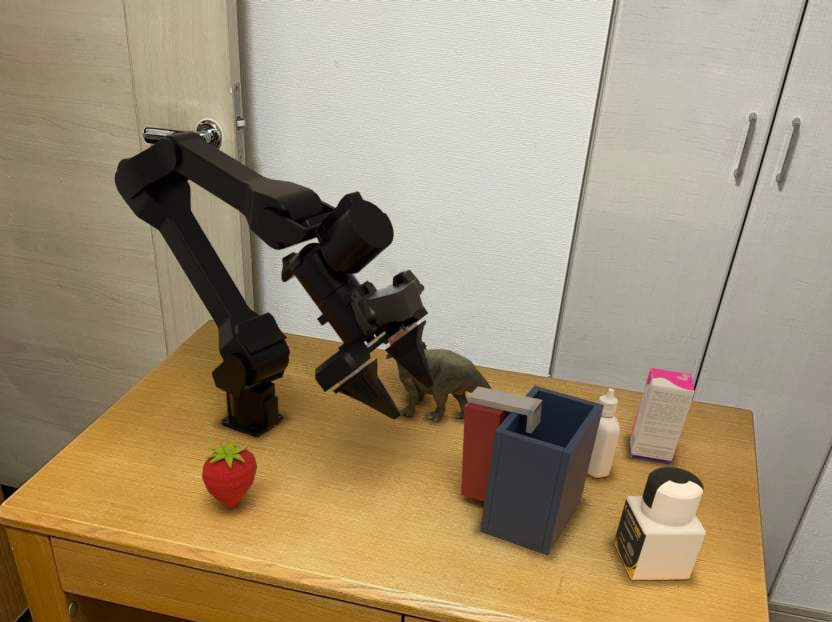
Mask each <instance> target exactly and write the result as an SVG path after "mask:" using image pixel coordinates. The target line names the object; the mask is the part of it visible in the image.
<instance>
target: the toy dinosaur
mask: <svg viewBox="0 0 832 622" xmlns="http://www.w3.org/2000/svg"><path fill="white" fill-rule="evenodd" d="M426 343H427V342H426V341H423V340H422V344H423V348H424V352H425V355H426V359H427V362H428V365H429V368H430V371H431V374H432V378H433V381H434V385H433V386H431V387H430V388H426V387H425V386H424V385H422V384H421V383H420V382H419V381H418V380H416V379H415V378H414V377H413V376H412V375H411V374H410V373H409V372H408V371H407V370H406V369H405V368H403V367H402V366H401V365H400V364H399V363H398V362H397V361H396V360H395V361H396V365H397V371H398V378H399V381H400V382H401V383H402V385H403V387H404V389H405V391H406V392H407V393H408V400H407V405H406V406H405V407H404V408H400V409H399V412H400V414H401V415H400V416H405V417H407V418H409V417H410V418H412V417H413V416H414V415H415V412H416V407H417V404H418V403H419V402H422V401H423V400H425V398H424V397H425V396H432V398H433V401H434V402H435V404H436V408H435V410H434V411H430V412H429V413H428V417H427V419H428V420H433V422H438V421H440V420H441V419H443V418H444V414H445V413H446V404H447V403H448V400H449V395H452V396H453V398H454V399H455V400H456V401H457V402H458V404H459V408H460V411H458V413H457V414H456V415H455V418H457V419H462V418H463V419H464V412H465V405H466V404H467V403H468V397H467V395H466V393H469V394H471V393H472V392H473V391H474V390H475V389H476V388H477V387H483V388H488V389H493V388H492V387H491V384H489V381H488V380H487V379H486V377H485V376H484V375H483V374H482V373H481V372H480V371H479V369H477V367H476V365H475V364H474V363H473V362H472V361H471V360H470V359H469V358H467V357H466V356H463V355H461V354H460V353H458V352H454V351H452V350H450V349H445V348H429V349H428V348H427V347H428V345H427V344H426ZM390 345H391V344H390V343H389V346H390ZM384 359H385V360H390V359H393V357H391V356H390V355H389V354H388V353H387V354H386V355H385V358H384Z"/></svg>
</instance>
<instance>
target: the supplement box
mask: <svg viewBox="0 0 832 622" xmlns="http://www.w3.org/2000/svg"><path fill="white" fill-rule="evenodd" d="M695 393H696V392H695V387H694V382H693V377H692V373H688V372H681V371H674V370H668V369H662V368H656V367H650V369H649V372H648V375H647V378H646V382H645V385H644V389H643V393H642V395H641V398H640V402H639V406H638V408H637V413H636V415H635V419H634V422H633V425H632V429H631V432H630V435H629V457H630V458H631V459H636V460H644V461H648V462H649V461H650V462H654V463H655V462H656V463H661V464H672V461H673V458H674V455H675V452H676V449H677V447H678V443H679V440H680V438H681V434H682V432H683V428H684V425H685V423H686V419H687V417H688V413H689V411H690V408H691V404H692V402H693V399H694V395H695Z"/></svg>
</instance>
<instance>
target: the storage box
mask: <svg viewBox="0 0 832 622" xmlns="http://www.w3.org/2000/svg"><path fill="white" fill-rule="evenodd" d="M525 396H526V397H530V398H535V399H540V400H542V407H541V417H540V423H539V424H538V426H537V427H536V428H535V429H534V431H533V432H532V433H527V432H526V426H527V415H523V414H518V413H514V412H511V413H510V414H509V416H508V417H507V418H506V419H505V420H504V421H503V422H502V424H501V425H500V426H499V427H498V428H497V429H496V431H495V436H494V442H493V449H492V456H491V462H490V469H489V475H488V482H487V489H486V495H485V501H483V502H484V503H483V508H482V509H483V510H482V516H481V523H480V530H479V531H480V532H481V533H484V534H486V535H490V536H493V537H495V538H498V539H500V540H504V541H507V542H510V543H513V544H516V545H518V546H521V547H524V548H526V549H530V550H532V551H535V552H538V553H540V554H544V555H546V556H548V555H549V554H550V553H551V551H552V550H553V548H554V546H555V545H556V543H557V541H558V539H559V538H560V537H561V535H562V533H563V531H564V530H565V528H566V527H567V525H568V523H569V522H570V519H571V518H572V516H573V515H574V513H575V512H576V510H577V509H578V506H579V505H580V503H581V501H582V497H583V493H584V490H585V489H584V488H585V484H586V480H587V476H588V474H587V473H588V469H589V464H590V460H591V456H592V452H593V448H594V444H595V440H596V436H597V431H598V427H599V423H600V419H601V415H602V411H603V407H604V405H603V404H599V403H598V402H595V401H591V400H589V399H584V398H580V397H577V396H574V395H570V394H567V393H564V392H561V391H556V390H553V389H548V388H545V387H542V386H538V385H536V384H535V385H533V386H532V387H531V388H530V390H529V391H528V392H527V393H526V394H525Z"/></svg>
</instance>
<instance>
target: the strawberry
mask: <svg viewBox="0 0 832 622" xmlns="http://www.w3.org/2000/svg"><path fill="white" fill-rule="evenodd" d="M231 441H232V439H230V440H229V441H228V442H227V443H226V444H223V443H221V442H219V446H220V447H208V448H207V449H208V450H209V451H212V452H213V453H212V454H210V455H207V456H205V457H204V459H206V460H205V461H204V463H203V465H202V470H201V471H202V473H201V479H202V482H203V484H204V486H205V488H206V491H207V492H208V493H209V494H210V495H211V496H212V497H213V498H214V499H215V500H216V501H217V502H219V503H221V504H223V505H224V506H225V507H226V508H229V509H232V508H235V507H236V506H237V505H238V504H239V502H240V501H241V500H242V499H243V498H244V497H245V495H246V494H247V493H248V491H249V490H250V488H251V487H252V486H253V484H254V481H255V477H256V474H257V470H258V463H257V460H256V457H255V455H254V453H253V452H251V451H250V450H249V449H248V448H249V447H248V446H238V445H237V440H235V441H234V442H232V443H230V442H231ZM229 443H230V444H229ZM236 445H237V446H236Z"/></svg>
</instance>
